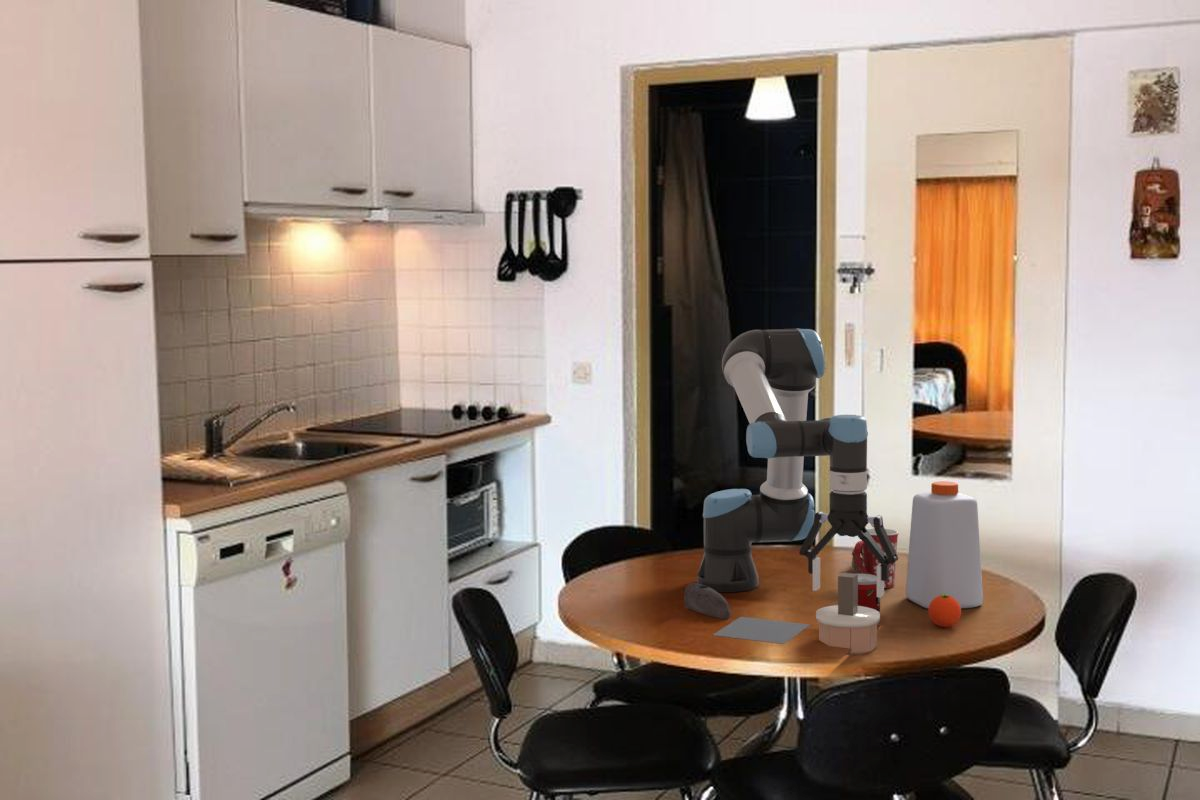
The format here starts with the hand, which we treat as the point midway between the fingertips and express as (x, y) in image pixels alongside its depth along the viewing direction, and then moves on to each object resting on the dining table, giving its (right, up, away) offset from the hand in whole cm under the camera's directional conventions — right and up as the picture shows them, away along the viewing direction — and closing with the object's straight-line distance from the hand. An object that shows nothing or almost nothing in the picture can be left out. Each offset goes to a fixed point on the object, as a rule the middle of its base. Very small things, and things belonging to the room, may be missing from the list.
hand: (848, 592), depth 283 cm
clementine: (+24, -10, +16) cm, 30 cm away
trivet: (-17, -11, +10) cm, 22 cm away
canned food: (+6, -10, +16) cm, 20 cm away
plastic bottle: (+29, -7, +36) cm, 46 cm away
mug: (+16, -6, +52) cm, 54 cm away
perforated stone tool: (-27, -10, +25) cm, 38 cm away
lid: (0, -6, +1) cm, 6 cm away
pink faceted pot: (0, -11, +1) cm, 12 cm away
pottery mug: (+18, -4, +70) cm, 73 cm away
